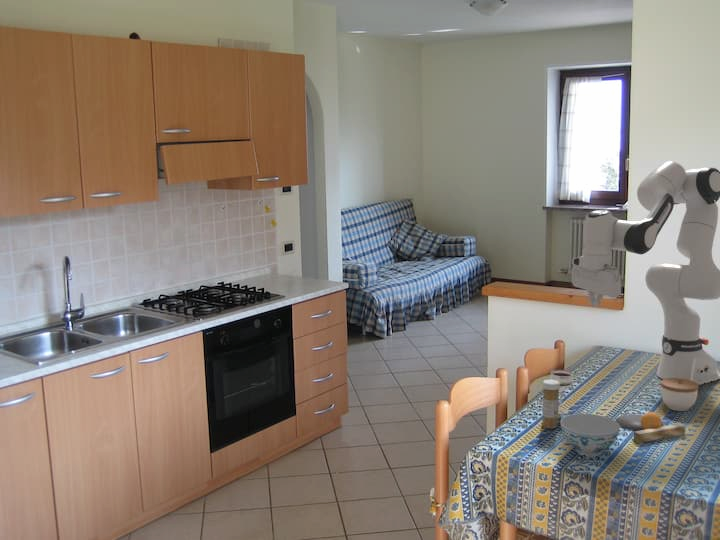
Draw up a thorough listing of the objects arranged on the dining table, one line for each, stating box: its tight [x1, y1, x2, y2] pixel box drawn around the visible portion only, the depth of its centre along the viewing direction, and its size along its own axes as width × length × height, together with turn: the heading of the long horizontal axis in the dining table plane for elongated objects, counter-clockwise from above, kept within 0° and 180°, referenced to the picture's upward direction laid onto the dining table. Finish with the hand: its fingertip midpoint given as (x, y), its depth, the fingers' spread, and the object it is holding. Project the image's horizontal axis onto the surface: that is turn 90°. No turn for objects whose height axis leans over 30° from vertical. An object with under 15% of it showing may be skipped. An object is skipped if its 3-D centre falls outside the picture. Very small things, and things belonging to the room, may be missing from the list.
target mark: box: [614, 414, 664, 432], centre depth 224 cm, size 13×13×1 cm
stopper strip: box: [633, 422, 686, 444], centre depth 213 cm, size 16×2×2 cm, turn 111°
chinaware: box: [560, 413, 621, 457], centre depth 204 cm, size 15×15×8 cm
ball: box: [641, 411, 663, 430], centre depth 217 cm, size 6×6×6 cm
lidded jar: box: [659, 378, 700, 412], centre depth 236 cm, size 11×11×9 cm
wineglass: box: [549, 369, 574, 415], centre depth 233 cm, size 7×7×12 cm
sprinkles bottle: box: [541, 378, 560, 429], centre depth 221 cm, size 5×5×14 cm
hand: (594, 305), depth 245 cm, fingers closed
